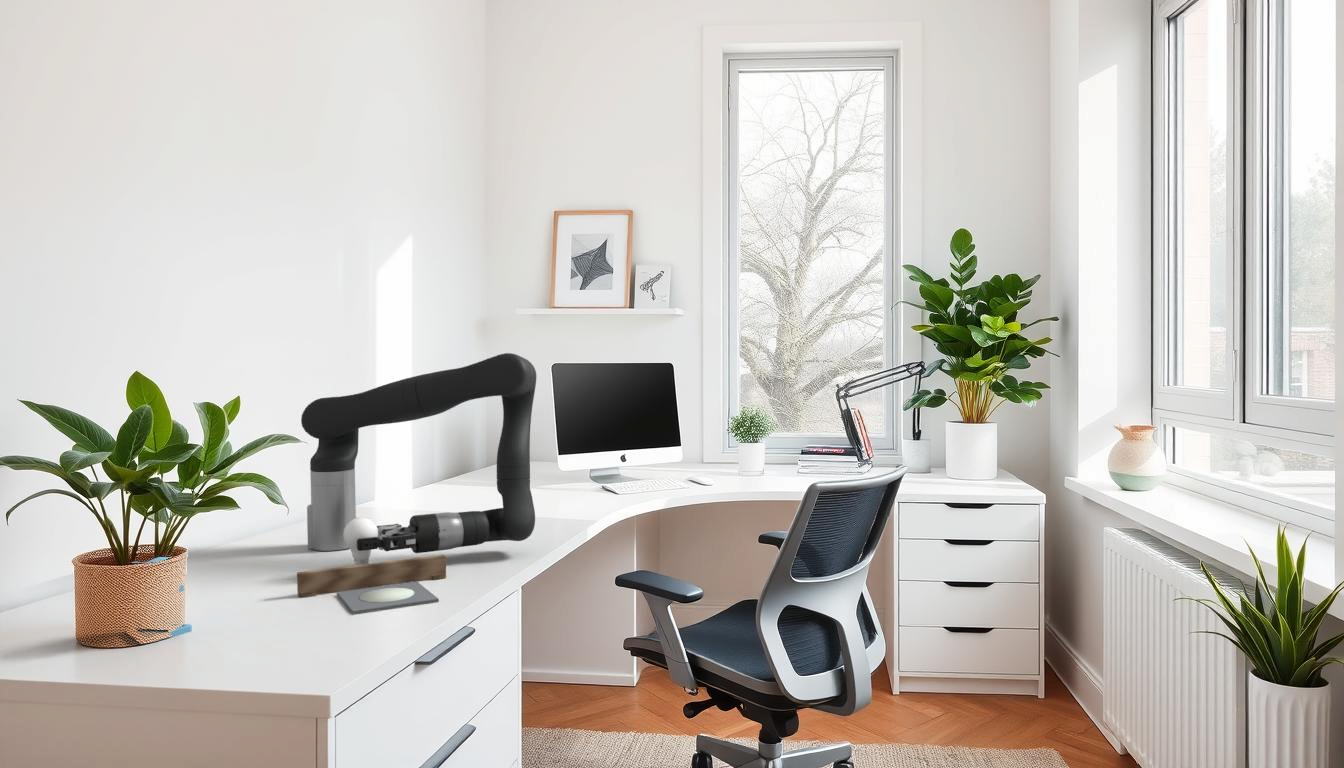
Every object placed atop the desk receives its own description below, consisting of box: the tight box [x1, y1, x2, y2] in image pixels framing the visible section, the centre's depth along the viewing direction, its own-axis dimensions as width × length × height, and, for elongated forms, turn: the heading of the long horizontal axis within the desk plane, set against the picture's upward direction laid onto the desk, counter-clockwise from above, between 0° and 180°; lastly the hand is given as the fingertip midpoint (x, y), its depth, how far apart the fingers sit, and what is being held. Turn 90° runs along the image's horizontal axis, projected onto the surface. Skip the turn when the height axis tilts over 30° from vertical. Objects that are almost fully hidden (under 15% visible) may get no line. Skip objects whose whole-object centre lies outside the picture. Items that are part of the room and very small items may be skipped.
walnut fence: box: [296, 554, 447, 599], centre depth 163 cm, size 26×3×4 cm, turn 121°
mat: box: [336, 581, 440, 615], centre depth 154 cm, size 14×14×1 cm
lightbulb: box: [343, 516, 378, 566], centre depth 172 cm, size 6×6×11 cm
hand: (352, 541), depth 171 cm, fingers open, 8 cm apart
